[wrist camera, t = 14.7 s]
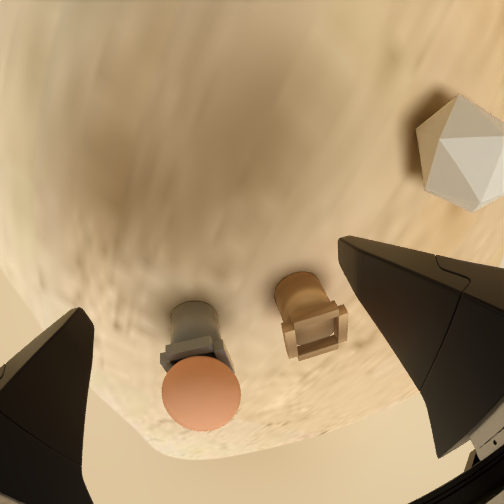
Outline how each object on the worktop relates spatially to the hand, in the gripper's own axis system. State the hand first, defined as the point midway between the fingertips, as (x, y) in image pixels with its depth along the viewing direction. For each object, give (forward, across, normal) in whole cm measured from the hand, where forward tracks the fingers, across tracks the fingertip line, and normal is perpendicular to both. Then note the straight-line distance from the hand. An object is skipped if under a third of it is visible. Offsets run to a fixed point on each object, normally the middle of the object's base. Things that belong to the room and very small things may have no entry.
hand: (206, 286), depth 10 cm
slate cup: (+13, -4, -14) cm, 20 cm away
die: (+13, +20, -2) cm, 25 cm away
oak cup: (+13, +6, -14) cm, 20 cm away
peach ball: (+5, -4, -14) cm, 16 cm away
